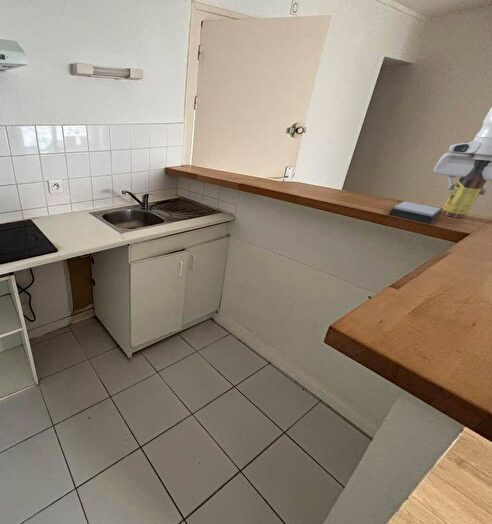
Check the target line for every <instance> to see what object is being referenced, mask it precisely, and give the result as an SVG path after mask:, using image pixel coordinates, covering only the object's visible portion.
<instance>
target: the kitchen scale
mask: <svg viewBox="0 0 492 524" xmlns="http://www.w3.org/2000/svg"><path fill="white" fill-rule="evenodd" d="M442 211H443V209H442V208H441V207H436V206H433V205H426V204H421V203H416V202H412V201H411V202H410V201H406V200H404V201H403V202H401V203H398V204H397V205H395V206H394V207H392V208H391V209H390V212H389V216H392V217H396V218H401V219H404V220H405V219H406V220H409V221H414V222H417V223H422V224H423V223H424V224H428V225H430V224H432V223H433V222H435V221H436V220H437V219H438V218H439V217H440V216H441V214H442Z"/></svg>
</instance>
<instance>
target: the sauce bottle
mask: <svg viewBox="0 0 492 524" xmlns="http://www.w3.org/2000/svg"><path fill="white" fill-rule="evenodd" d="M489 163H490V161H486V160H475V163H474V168H473V169H472V171H471V172H470V173H469V174H468V175H467V176H465V177H459V178H458V180H457V182H456V185H455V187H454V189H453V190H451V193H450V194H449V197H448V198H447V201H446V203H445V204H444V206H443V208H442V212H441V214H442V215H443V216H446V217H450V218H455V219H462V218H463V219H464V218H466V216H467V215H468V213H469V212H470V211H471V209H472V207H473V205H474V204H475V202H476V200H477V198H479V195H480V194H479V193H480V192H481V189H482V188H484V186H485V184H486V182H487V180H484V178H483V176H482V171H484V170H483V169H484V168H485V167H487V165H488V164H489Z"/></svg>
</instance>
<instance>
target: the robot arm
mask: <svg viewBox="0 0 492 524" xmlns="http://www.w3.org/2000/svg"><path fill="white" fill-rule="evenodd" d="M475 160H486V161H490V163H489V164H488V165H487V167H485V168H484V169H483V170H484V171H482V176H483V178H484V180H486V181H488V182H489V181H490V186H487V188H484V187H483V188H482V189H481V192H480V193H479V195H481V196H486V195H487V194H488V192H489V190H492V106H491V107H490V108H489V111H488V112H487V114H486V115H485V117H484V120H483V121H482V127H481V128H480V130H479V131H478V132H477V134H475V137H474V138H473V140H470V141H463V142H458V143H454V144H451V145H450V146H449V148H448V152H446V153H444V154H443V155H442V156H440V158H439V160H438V162H437V163H436V164H435V166H434V168H433V170H432V172H433V173H434V174H435V175H441V176H442V175H443V176H447V182H448V186H447V189H446V190H447V191H453V189H454V187H455V185H456V184H457V183H456V184H455V183H454V182H453V181H454V180H455V179H456V177H457V178H461V177H465V176H467V175H468V174H469V173H470V172H471V171H472V169H473V168H474V163H475Z"/></svg>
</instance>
